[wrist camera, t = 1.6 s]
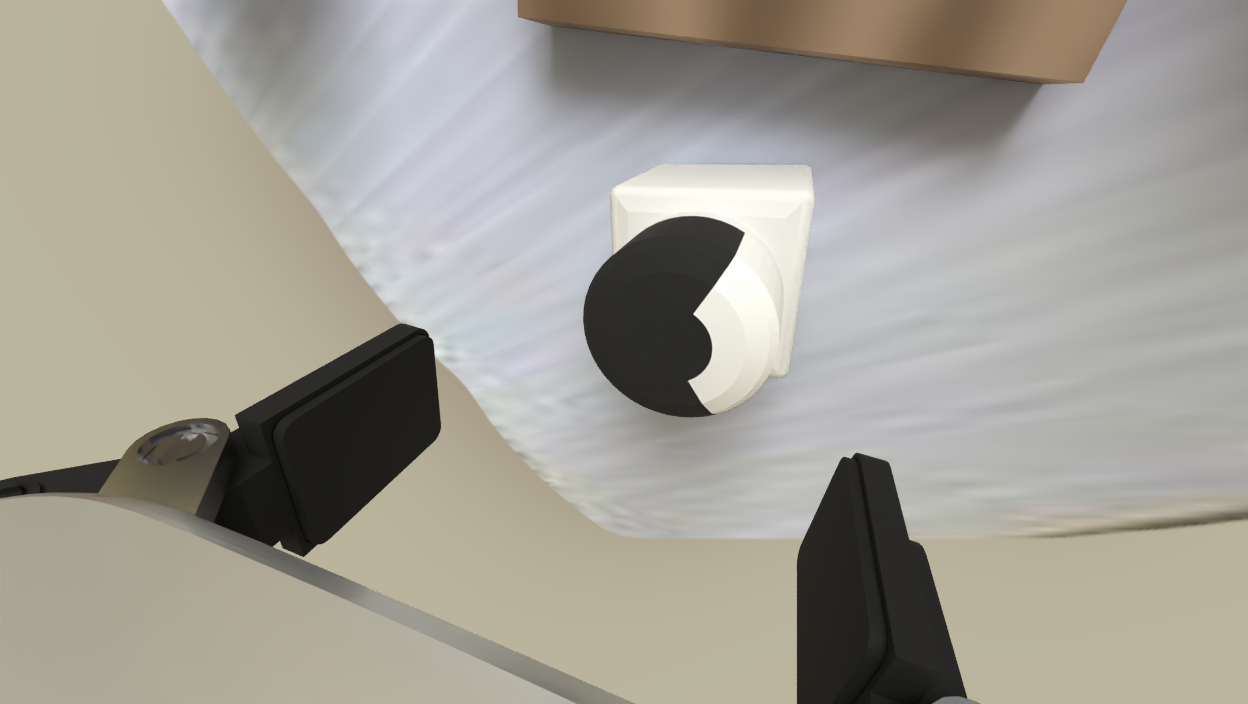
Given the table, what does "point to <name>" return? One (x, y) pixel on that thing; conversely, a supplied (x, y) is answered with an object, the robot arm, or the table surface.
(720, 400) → the medicine bottle
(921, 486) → the table surface
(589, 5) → the brown piece
